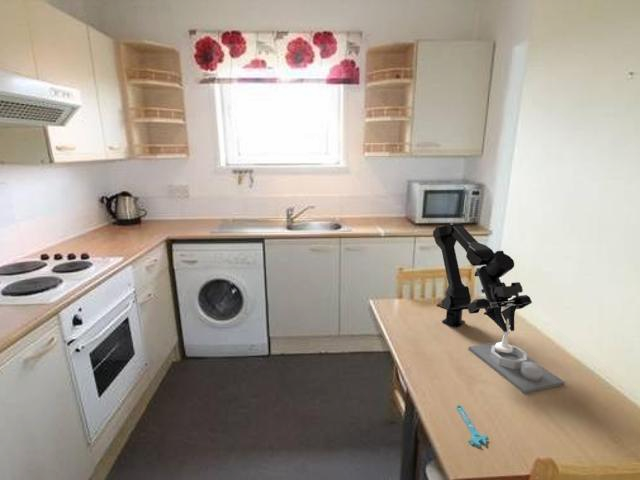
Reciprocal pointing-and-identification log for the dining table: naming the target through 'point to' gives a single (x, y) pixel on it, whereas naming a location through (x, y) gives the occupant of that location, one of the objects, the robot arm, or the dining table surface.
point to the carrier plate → (516, 368)
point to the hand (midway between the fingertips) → (509, 331)
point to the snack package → (439, 304)
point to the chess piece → (504, 341)
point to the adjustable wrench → (473, 430)
